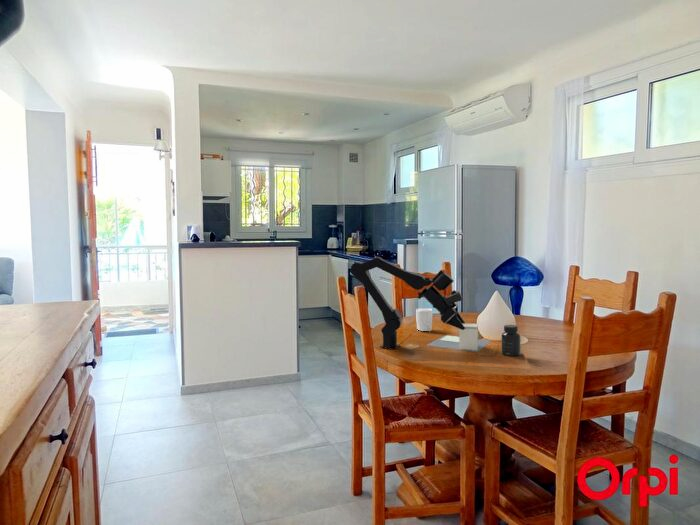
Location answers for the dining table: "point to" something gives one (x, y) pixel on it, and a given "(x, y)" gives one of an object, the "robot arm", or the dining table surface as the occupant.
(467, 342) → the white rounded cube
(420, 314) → the white cup
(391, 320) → the robot arm
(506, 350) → the supplement bottle
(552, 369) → the dining table surface
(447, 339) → the board
